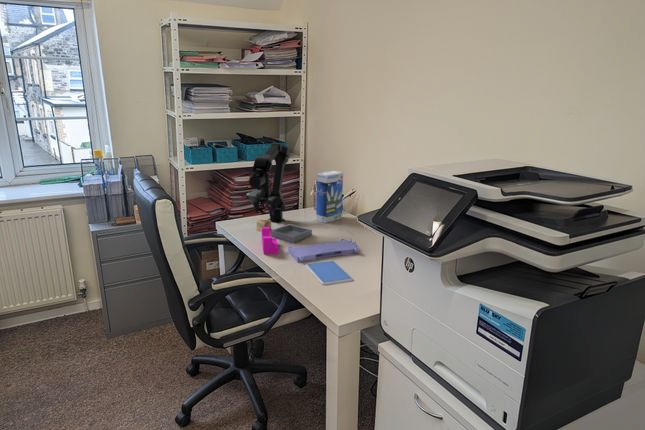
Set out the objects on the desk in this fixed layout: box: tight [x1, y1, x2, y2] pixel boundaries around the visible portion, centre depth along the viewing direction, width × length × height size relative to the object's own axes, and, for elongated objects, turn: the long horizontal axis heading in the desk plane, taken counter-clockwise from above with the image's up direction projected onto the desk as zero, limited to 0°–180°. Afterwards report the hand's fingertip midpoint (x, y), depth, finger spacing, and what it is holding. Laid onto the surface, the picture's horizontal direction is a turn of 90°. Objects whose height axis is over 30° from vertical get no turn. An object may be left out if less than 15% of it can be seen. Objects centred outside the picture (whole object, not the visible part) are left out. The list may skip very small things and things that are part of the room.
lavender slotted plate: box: [288, 238, 360, 263], centre depth 187 cm, size 30×4×15 cm
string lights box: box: [315, 170, 344, 224], centre depth 231 cm, size 13×8×26 cm, turn 136°
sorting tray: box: [270, 223, 313, 244], centre depth 207 cm, size 14×14×3 cm
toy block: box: [261, 227, 279, 255], centre depth 191 cm, size 15×6×8 cm, turn 10°
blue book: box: [305, 260, 354, 286], centre depth 168 cm, size 19×13×1 cm, turn 22°
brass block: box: [256, 218, 272, 233], centre depth 214 cm, size 5×5×5 cm
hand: (263, 214), depth 212 cm, fingers open, 9 cm apart
